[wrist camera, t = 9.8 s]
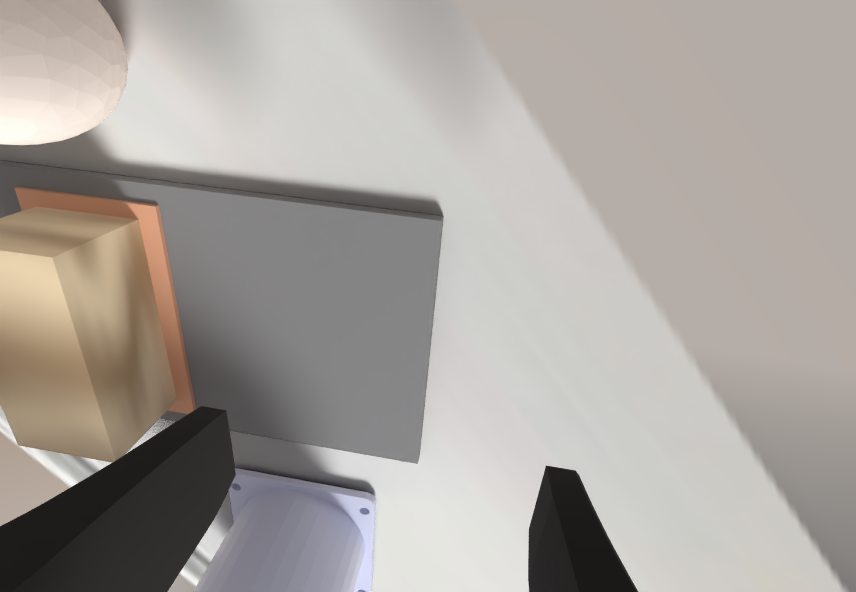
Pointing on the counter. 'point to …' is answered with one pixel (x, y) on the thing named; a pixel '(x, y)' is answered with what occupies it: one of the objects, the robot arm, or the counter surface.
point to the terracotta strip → (157, 267)
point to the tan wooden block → (79, 333)
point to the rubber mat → (289, 306)
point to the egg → (57, 69)
